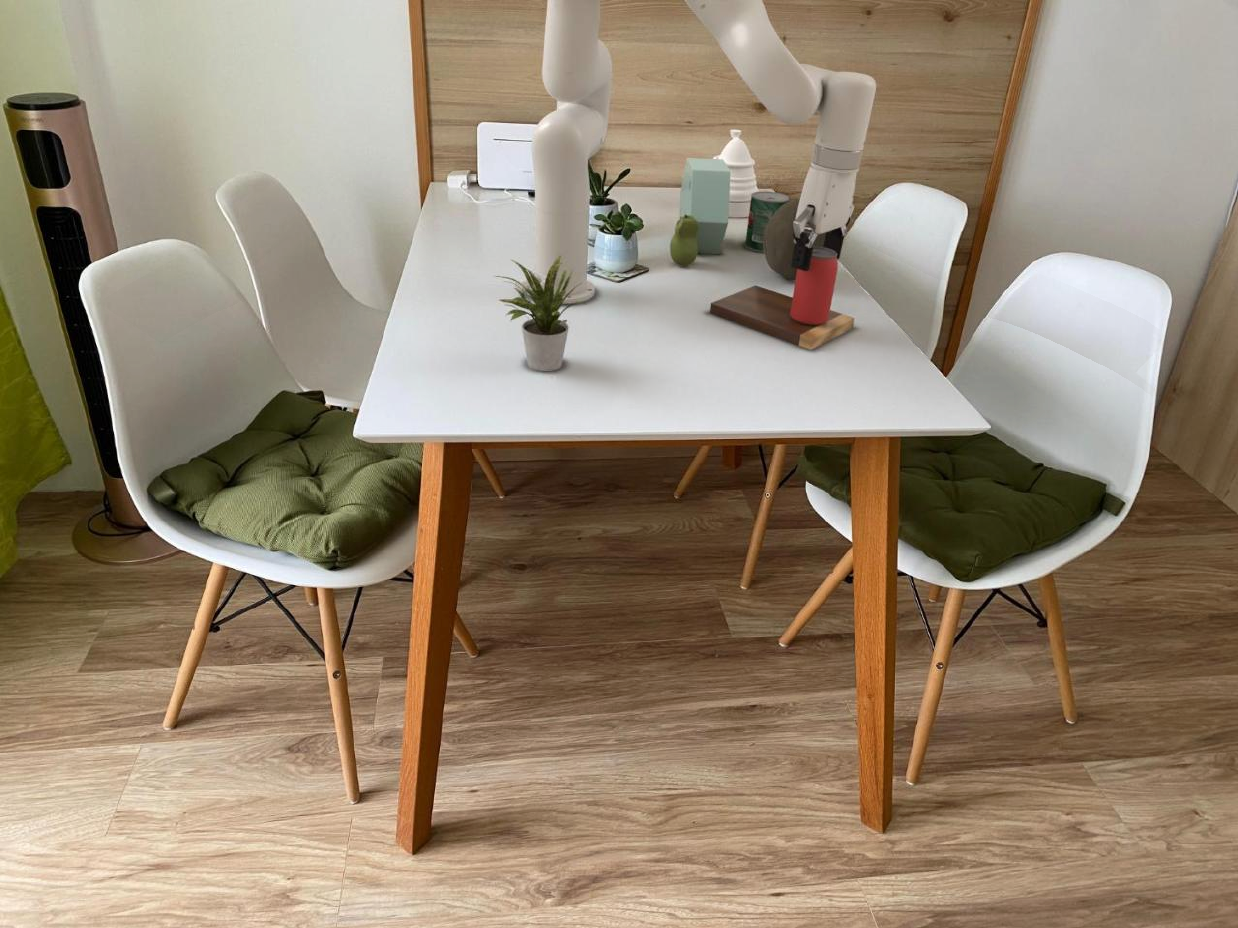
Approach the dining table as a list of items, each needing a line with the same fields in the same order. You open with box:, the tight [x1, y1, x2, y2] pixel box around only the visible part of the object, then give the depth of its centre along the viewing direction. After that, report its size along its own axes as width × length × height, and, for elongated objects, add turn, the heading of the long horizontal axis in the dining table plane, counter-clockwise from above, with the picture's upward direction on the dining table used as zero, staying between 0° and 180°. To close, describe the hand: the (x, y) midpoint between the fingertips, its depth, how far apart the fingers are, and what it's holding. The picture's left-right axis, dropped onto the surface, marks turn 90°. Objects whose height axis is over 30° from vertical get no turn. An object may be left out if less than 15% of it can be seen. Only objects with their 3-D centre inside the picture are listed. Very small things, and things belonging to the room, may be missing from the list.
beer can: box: [790, 247, 839, 325], centre depth 154 cm, size 7×7×12 cm
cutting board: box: [709, 285, 856, 351], centre depth 160 cm, size 14×21×2 cm, turn 48°
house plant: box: [493, 256, 586, 372], centre depth 137 cm, size 14×14×16 cm
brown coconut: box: [763, 198, 830, 281], centre depth 177 cm, size 14×14×15 cm
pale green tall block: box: [678, 157, 730, 255], centre depth 190 cm, size 17×8×21 cm
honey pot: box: [712, 129, 759, 218], centre depth 216 cm, size 13×13×18 cm
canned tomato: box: [744, 190, 790, 254], centre depth 194 cm, size 8×8×11 cm
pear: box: [669, 214, 699, 267], centre depth 181 cm, size 6×5×10 cm
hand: (815, 263), depth 152 cm, fingers open, 9 cm apart
